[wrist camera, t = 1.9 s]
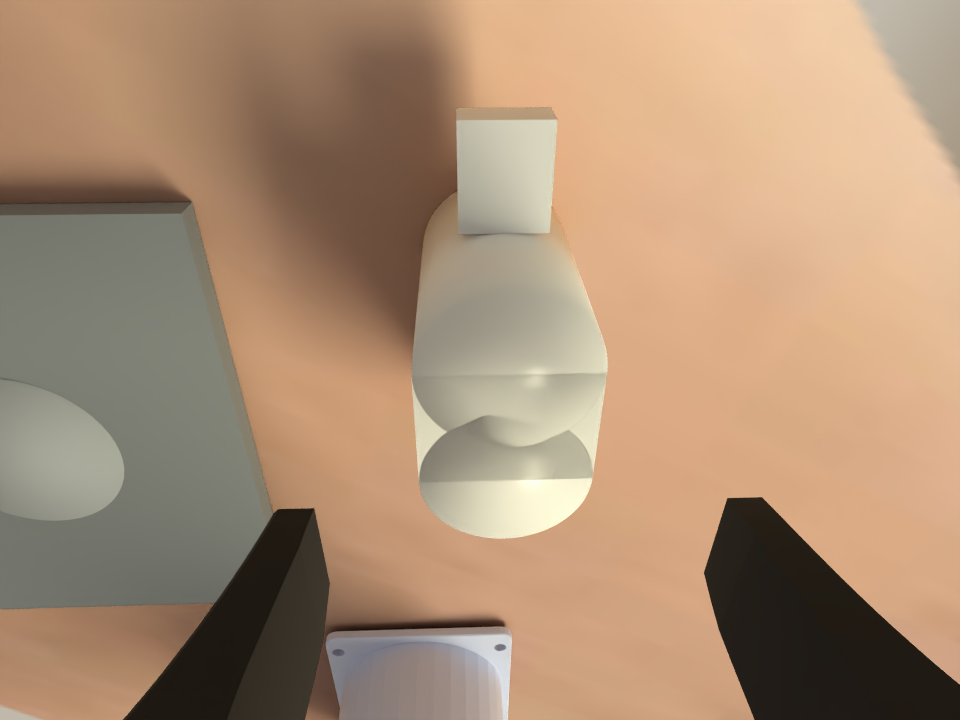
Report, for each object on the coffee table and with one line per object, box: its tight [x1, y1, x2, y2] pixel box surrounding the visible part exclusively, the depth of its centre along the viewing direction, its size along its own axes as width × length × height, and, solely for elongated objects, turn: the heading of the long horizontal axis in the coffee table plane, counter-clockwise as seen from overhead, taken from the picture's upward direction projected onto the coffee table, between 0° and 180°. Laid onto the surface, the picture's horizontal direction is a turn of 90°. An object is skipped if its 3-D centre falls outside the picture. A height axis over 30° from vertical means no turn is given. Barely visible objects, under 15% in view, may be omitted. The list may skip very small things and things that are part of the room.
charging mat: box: [0, 202, 273, 609], centre depth 21 cm, size 16×14×1 cm
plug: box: [412, 107, 608, 538], centre depth 16 cm, size 9×4×6 cm, turn 0°
